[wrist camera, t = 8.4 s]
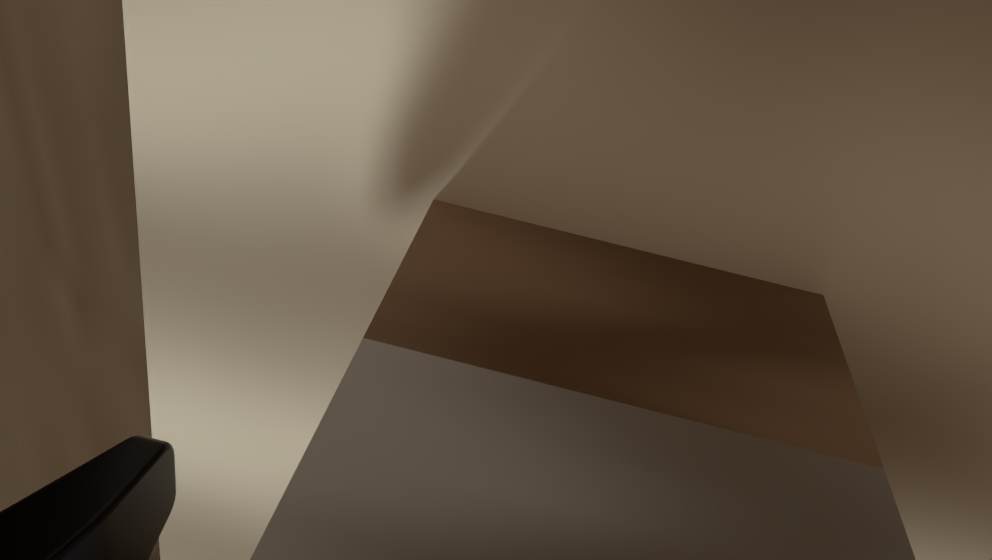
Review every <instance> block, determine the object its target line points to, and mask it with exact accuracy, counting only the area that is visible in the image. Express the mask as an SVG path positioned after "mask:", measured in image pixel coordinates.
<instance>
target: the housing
mask: <svg viewBox="0 0 992 560" xmlns="http://www.w3.org/2000/svg"><path fill="white" fill-rule="evenodd" d="M250 560H916V559H915V556H914V553H913V551H912V548H911V545H910V542H909V539H908V536H907V533H906V530H905V528H904V525H903V522H902V519H901V516H900V513H899V510H898V508H897V505H896V502H895V499H894V496H893V493H892V490H891V488H890V485H889V482H888V479H887V476H886V473H885V470H884V467H883V465H882V462H881V459H880V456H879V453H878V450H877V447H876V445H875V442H874V439H873V436H872V433H871V430H870V427H869V424H868V422H867V419H866V416H865V413H864V410H863V407H862V404H861V402H860V399H859V396H858V393H857V390H856V387H855V384H854V381H853V379H852V376H851V373H850V370H849V367H848V364H847V361H846V359H845V356H844V353H843V350H842V347H841V344H840V341H839V338H838V336H837V333H836V330H835V327H834V324H833V321H832V318H831V316H830V313H829V310H828V307H827V304H826V301H825V298H824V295H821V294H817V293H813V292H809V291H804V290H800V289H796V288H792V287H788V286H784V285H780V284H776V283H772V282H768V281H764V280H760V279H756V278H752V277H748V276H743V275H739V274H735V273H731V272H727V271H723V270H719V269H715V268H711V267H707V266H703V265H699V264H695V263H691V262H687V261H682V260H678V259H674V258H670V257H666V256H662V255H658V254H654V253H650V252H646V251H642V250H638V249H634V248H630V247H625V246H621V245H617V244H613V243H609V242H605V241H601V240H597V239H593V238H589V237H585V236H581V235H577V234H573V233H569V232H564V231H560V230H556V229H552V228H548V227H544V226H540V225H536V224H532V223H528V222H524V221H520V220H516V219H512V218H507V217H503V216H499V215H495V214H491V213H487V212H483V211H479V210H475V209H471V208H467V207H463V206H459V205H455V204H451V203H446V202H442V201H438V200H434V199H433V201H432V203H431V205H430V207H429V209H428V211H427V213H426V215H425V217H424V219H423V221H422V223H421V225H420V227H419V229H418V231H417V233H416V235H415V237H414V239H413V241H412V243H411V244H410V246H409V248H408V250H407V252H406V254H405V256H404V258H403V260H402V262H401V264H400V266H399V268H398V270H397V272H396V274H395V276H394V278H393V280H392V282H391V284H390V286H389V288H388V290H387V292H386V294H385V296H384V298H383V299H382V301H381V303H380V305H379V307H378V309H377V311H376V313H375V315H374V317H373V319H372V321H371V323H370V325H369V327H368V329H367V331H366V333H365V335H364V337H363V339H362V341H361V343H360V345H359V347H358V349H357V351H356V353H355V354H354V356H353V358H352V360H351V362H350V364H349V366H348V368H347V370H346V372H345V374H344V376H343V378H342V380H341V382H340V384H339V386H338V388H337V390H336V392H335V394H334V396H333V398H332V400H331V402H330V404H329V406H328V407H327V409H326V411H325V413H324V415H323V417H322V419H321V421H320V423H319V425H318V427H317V429H316V431H315V433H314V435H313V437H312V439H311V441H310V443H309V445H308V447H307V449H306V451H305V453H304V455H303V457H302V459H301V461H300V462H299V464H298V466H297V468H296V470H295V472H294V474H293V476H292V478H291V480H290V482H289V484H288V486H287V488H286V490H285V492H284V494H283V496H282V498H281V500H280V502H279V504H278V506H277V508H276V510H275V512H274V514H273V516H272V517H271V519H270V521H269V523H268V525H267V527H266V529H265V531H264V533H263V535H262V537H261V539H260V541H259V543H258V545H257V547H256V549H255V551H254V553H253V555H252V557H251V559H250Z"/></svg>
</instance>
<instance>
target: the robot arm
mask: <svg viewBox="0 0 992 560" xmlns="http://www.w3.org/2000/svg"><path fill="white" fill-rule="evenodd" d="M175 497H176V476H175V454H174V448H173V447H172V445H171V444H170V443H168V442H166V441H162V440H158V439H154V438H151V437H147V436H142V435H137V436H133V437H130V438H128V439H126V440H125V441H123V442H121V443H119V444H118V445H116V446H114V447H112V448H111V449H109V450H107V451H105V452H104V453H102V454H100V455H99V456H97V457H95V458H93V459H92V460H90V461H88V462H86V463H85V464H83V465H81V466H79V467H78V468H76V469H74V470H72V471H71V472H69V473H67V474H66V475H64V476H62V477H60V478H59V479H57V480H55V481H53V482H52V483H50V484H48V485H46V486H45V487H43V488H41V489H39V490H38V491H36V492H34V493H32V494H31V495H29V496H27V497H26V498H24V499H22V500H20V501H19V502H17V503H15V504H13V505H12V506H10V507H8V508H6V509H5V510H3V511H1V512H0V560H148V559H149V557H150V555H151V553H152V551H153V549H154V547H155V544H156V542H157V540H158V538H159V536H160V534H161V532H162V530H163V528H164V526H165V524H166V522H167V520H168V518H169V516H170V513H171V511H172V508H173V505H174V502H175Z"/></svg>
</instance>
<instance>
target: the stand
mask: <svg viewBox="0 0 992 560" xmlns="http://www.w3.org/2000/svg"><path fill="white" fill-rule="evenodd" d="M122 3H123V18H124V33H125V47H126V62H127V77H128V91H129V106H130V121H131V135H132V150H133V165H134V179H135V194H136V209H137V223H138V238H139V253H140V267H141V282H142V297H143V311H144V326H145V341H146V355H147V370H148V385H149V399H150V414H151V429H152V438H154V439H158V440H162V441H166V442H168V443H170V444H171V445H172V447H173V448H174V454H175V476H176V497H175V502H174V505H173V508H172V511H171V513H170V516H169V518H168V520H167V522H166V524H165V526H164V528H163V530H162V532H161V534H160V536H159V546H160V560H250V559H251V557H252V555H253V553H254V551H255V549H256V547H257V545H258V543H259V541H260V539H261V537H262V535H263V533H264V531H265V529H266V527H267V525H268V523H269V521H270V519H271V517H272V516H273V514H274V512H275V510H276V508H277V506H278V504H279V502H280V500H281V498H282V496H283V494H284V492H285V490H286V488H287V486H288V484H289V482H290V480H291V478H292V476H293V474H294V472H295V470H296V468H297V466H298V464H299V462H300V461H301V459H302V457H303V455H304V453H305V451H306V449H307V447H308V445H309V443H310V441H311V439H312V437H313V435H314V433H315V431H316V429H317V427H318V425H319V423H320V421H321V419H322V417H323V415H324V413H325V411H326V409H327V407H328V406H329V404H330V402H331V400H332V398H333V396H334V394H335V392H336V390H337V388H338V386H339V384H340V382H341V380H342V378H343V376H344V374H345V372H346V370H347V368H348V366H349V364H350V362H351V360H352V358H353V356H354V354H355V353H356V351H357V349H358V347H359V345H360V343H361V341H362V339H363V337H364V335H365V333H366V331H367V329H368V327H369V325H370V323H371V321H372V319H373V317H374V315H375V313H376V311H377V309H378V307H379V305H380V303H381V301H382V299H383V298H384V296H385V294H386V292H387V290H388V288H389V286H390V284H391V282H392V280H393V278H394V276H395V274H396V272H397V270H398V268H399V266H400V264H401V262H402V260H403V258H404V256H405V254H406V252H407V250H408V248H409V246H410V244H411V243H412V241H413V239H414V237H415V235H416V233H417V231H418V229H419V227H420V225H421V223H422V221H423V219H424V217H425V215H426V213H427V211H428V209H429V207H430V205H431V203H432V201H433V199H434V200H438V201H442V202H446V203H451V204H455V205H459V206H463V207H467V208H471V209H475V210H479V211H483V212H487V213H491V214H495V215H499V216H503V217H507V218H512V219H516V220H520V221H524V222H528V223H532V224H536V225H540V226H544V227H548V228H552V229H556V230H560V231H564V232H569V233H573V234H577V235H581V236H585V237H589V238H593V239H597V240H601V241H605V242H609V243H613V244H617V245H621V246H625V247H630V248H634V249H638V250H642V251H646V252H650V253H654V254H658V255H662V256H666V257H670V258H674V259H678V260H682V261H687V262H691V263H695V264H699V265H703V266H707V267H711V268H715V269H719V270H723V271H727V272H731V273H735V274H739V275H743V276H748V277H752V278H756V279H760V280H764V281H768V282H772V283H776V284H780V285H784V286H788V287H792V288H796V289H800V290H804V291H809V292H813V293H817V294H821V295H824V298H825V301H826V304H827V307H828V310H829V313H830V316H831V318H832V321H833V324H834V327H835V330H836V333H837V336H838V338H839V341H840V344H841V347H842V350H843V353H844V356H845V359H846V361H847V364H848V367H849V370H850V373H851V376H852V379H853V381H854V384H855V387H856V390H857V393H858V396H859V399H860V402H861V404H862V407H863V410H864V413H865V416H866V419H867V422H868V424H869V427H870V430H871V433H872V436H873V439H874V442H875V445H876V447H877V450H878V453H879V456H880V459H881V462H882V465H883V467H884V470H885V473H886V476H887V479H888V482H889V485H890V488H891V490H892V493H893V496H894V499H895V502H896V505H897V508H898V510H899V513H900V516H901V519H902V522H903V525H904V528H905V530H906V533H907V536H908V539H909V542H910V545H911V548H912V551H913V553H914V556H915V559H916V560H991V559H992V0H122Z"/></svg>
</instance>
